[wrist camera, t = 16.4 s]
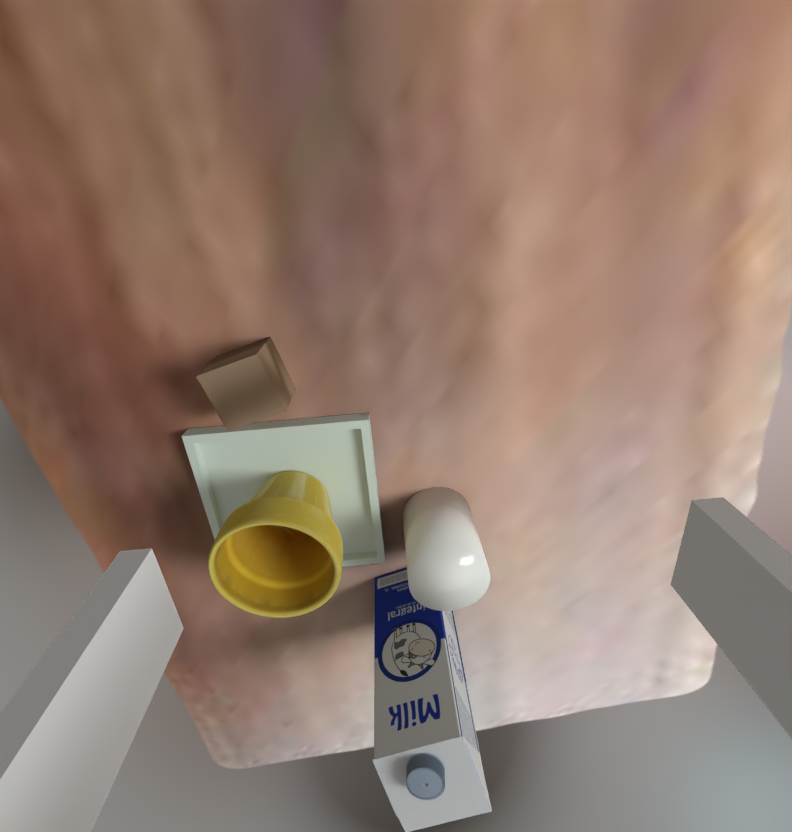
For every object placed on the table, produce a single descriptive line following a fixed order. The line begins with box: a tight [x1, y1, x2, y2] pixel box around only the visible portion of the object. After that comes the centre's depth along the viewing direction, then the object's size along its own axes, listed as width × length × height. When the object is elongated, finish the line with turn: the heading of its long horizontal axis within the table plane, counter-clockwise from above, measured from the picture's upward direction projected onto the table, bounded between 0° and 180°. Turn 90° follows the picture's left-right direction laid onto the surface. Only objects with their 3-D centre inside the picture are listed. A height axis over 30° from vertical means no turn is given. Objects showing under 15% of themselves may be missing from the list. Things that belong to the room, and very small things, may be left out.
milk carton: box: [373, 568, 492, 832], centre depth 41 cm, size 7×7×20 cm
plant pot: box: [208, 471, 343, 618], centre depth 39 cm, size 10×10×10 cm
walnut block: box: [196, 337, 296, 432], centre depth 37 cm, size 5×5×5 cm
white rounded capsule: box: [403, 487, 490, 611], centre depth 42 cm, size 7×7×9 cm
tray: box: [182, 413, 385, 567], centre depth 44 cm, size 17×17×2 cm
